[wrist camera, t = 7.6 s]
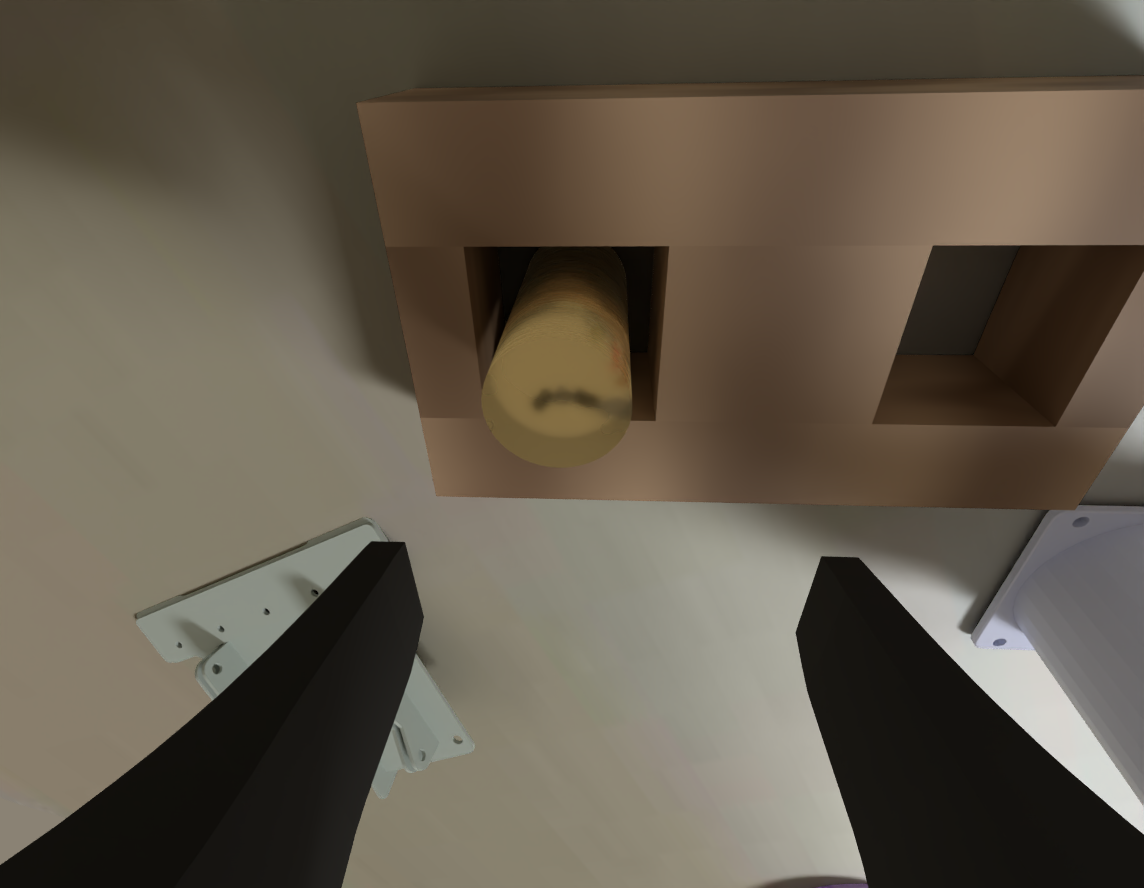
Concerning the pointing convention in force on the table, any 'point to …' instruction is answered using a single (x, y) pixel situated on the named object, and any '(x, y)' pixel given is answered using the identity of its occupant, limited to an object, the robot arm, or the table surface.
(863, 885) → the masking tape
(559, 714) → the table surface
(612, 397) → the brass peg
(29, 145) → the table surface
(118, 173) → the table surface
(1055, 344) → the hole block
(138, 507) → the table surface
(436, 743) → the metal bracket
